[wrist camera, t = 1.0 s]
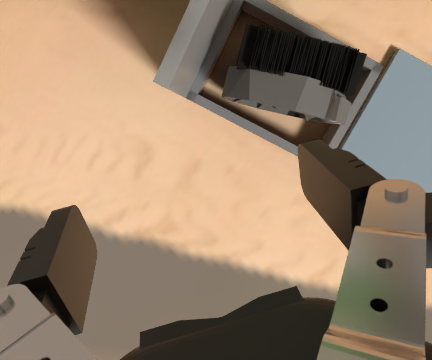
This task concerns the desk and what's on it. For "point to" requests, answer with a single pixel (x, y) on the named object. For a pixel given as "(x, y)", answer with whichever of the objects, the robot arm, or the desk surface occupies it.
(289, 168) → the desk surface
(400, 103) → the rubber mat
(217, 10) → the open rectangular frame
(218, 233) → the desk surface
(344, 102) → the cpu cooler
